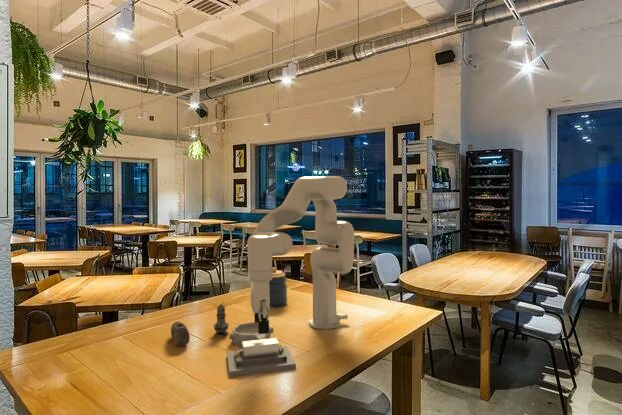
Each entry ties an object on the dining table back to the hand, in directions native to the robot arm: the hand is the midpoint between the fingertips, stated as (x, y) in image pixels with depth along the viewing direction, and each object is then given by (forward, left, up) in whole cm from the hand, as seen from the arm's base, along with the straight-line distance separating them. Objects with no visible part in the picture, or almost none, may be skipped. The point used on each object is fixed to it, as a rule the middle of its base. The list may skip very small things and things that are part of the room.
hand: (261, 327), depth 124 cm
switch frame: (+1, 0, -11) cm, 11 cm away
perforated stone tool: (+27, -25, -11) cm, 38 cm away
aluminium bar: (0, 0, -10) cm, 10 cm away
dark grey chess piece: (+12, -28, -11) cm, 32 cm away
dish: (+2, -19, -12) cm, 22 cm away
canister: (-14, -62, -11) cm, 64 cm away
